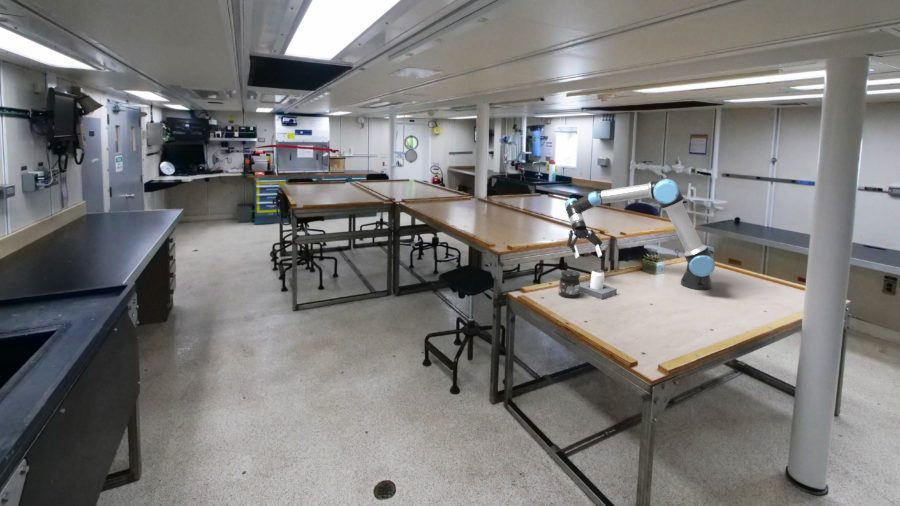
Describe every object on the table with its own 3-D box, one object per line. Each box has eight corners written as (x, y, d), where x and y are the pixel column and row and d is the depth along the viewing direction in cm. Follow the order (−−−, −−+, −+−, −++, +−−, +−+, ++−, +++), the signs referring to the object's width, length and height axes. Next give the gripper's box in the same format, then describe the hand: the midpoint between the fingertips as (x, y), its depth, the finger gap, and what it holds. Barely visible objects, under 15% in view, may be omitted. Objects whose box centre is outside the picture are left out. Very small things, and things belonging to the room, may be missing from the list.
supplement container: (559, 290, 247) (561, 268, 244) (579, 293, 244) (582, 271, 240) (556, 296, 237) (558, 274, 234) (578, 299, 234) (580, 277, 231)
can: (589, 293, 243) (591, 271, 240) (590, 289, 249) (592, 268, 246) (601, 295, 241) (604, 273, 238) (602, 291, 247) (605, 269, 244)
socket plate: (616, 294, 243) (617, 287, 242) (601, 299, 235) (602, 292, 234) (590, 285, 255) (591, 279, 254) (575, 290, 247) (576, 283, 246)
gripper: (595, 226, 266) (606, 259, 256) (555, 228, 261) (565, 261, 251) (601, 219, 260) (612, 252, 250) (560, 220, 254) (570, 254, 244)
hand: (589, 256), depth 250 cm, fingers open, 13 cm apart
